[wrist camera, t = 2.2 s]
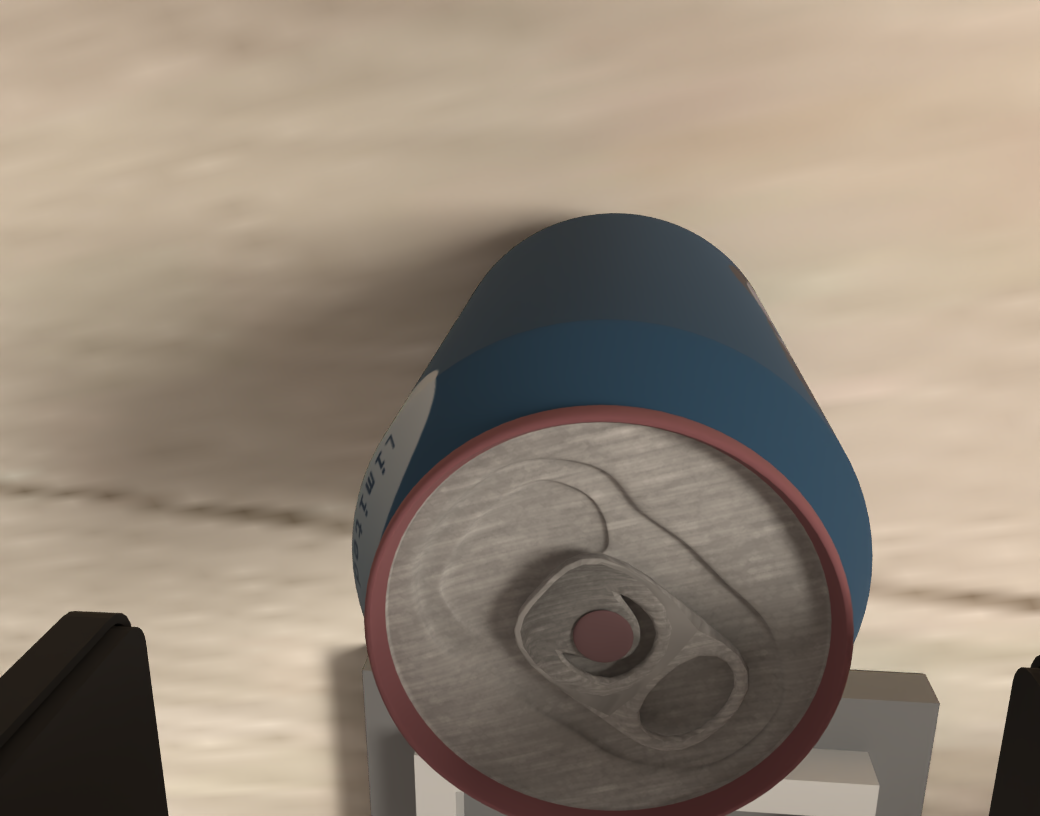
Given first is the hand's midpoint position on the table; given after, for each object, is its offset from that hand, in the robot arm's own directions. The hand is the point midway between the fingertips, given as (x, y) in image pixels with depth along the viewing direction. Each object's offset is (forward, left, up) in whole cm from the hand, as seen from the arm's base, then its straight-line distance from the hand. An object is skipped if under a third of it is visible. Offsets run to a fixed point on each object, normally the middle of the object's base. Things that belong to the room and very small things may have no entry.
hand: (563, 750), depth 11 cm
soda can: (-1, 0, -13) cm, 13 cm away
